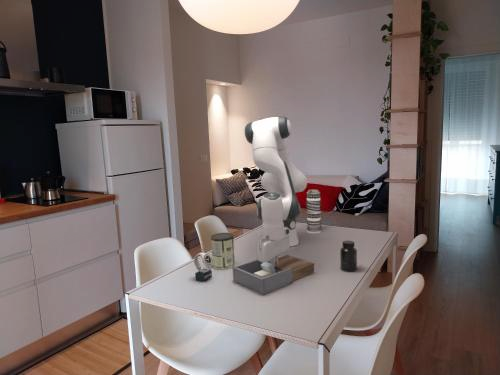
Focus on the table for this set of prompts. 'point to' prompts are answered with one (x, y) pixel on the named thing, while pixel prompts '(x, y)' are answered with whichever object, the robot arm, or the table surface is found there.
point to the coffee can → (222, 250)
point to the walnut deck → (295, 266)
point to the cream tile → (262, 273)
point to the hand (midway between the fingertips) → (274, 265)
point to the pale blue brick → (268, 267)
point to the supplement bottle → (348, 257)
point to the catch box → (260, 285)
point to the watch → (203, 273)
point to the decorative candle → (313, 211)
